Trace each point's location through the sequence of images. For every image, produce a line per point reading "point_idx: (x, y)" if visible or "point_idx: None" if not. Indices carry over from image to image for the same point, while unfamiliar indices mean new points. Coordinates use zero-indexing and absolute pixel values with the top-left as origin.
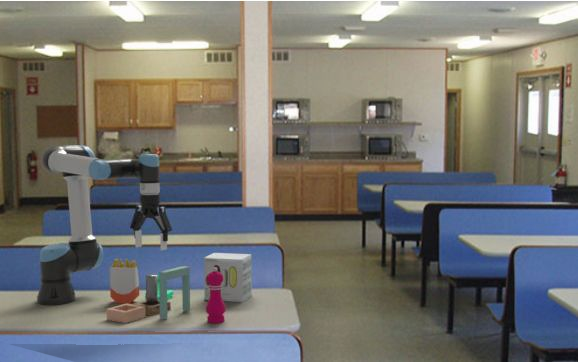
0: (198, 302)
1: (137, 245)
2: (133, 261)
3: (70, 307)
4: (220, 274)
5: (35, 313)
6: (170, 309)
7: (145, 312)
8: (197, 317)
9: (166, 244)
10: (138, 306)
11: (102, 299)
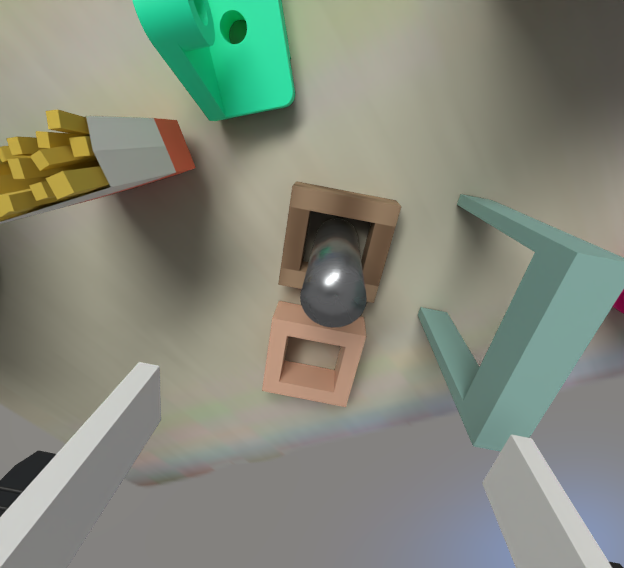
0: (465, 19)
1: (150, 427)
2: (68, 195)
3: (58, 296)
4: None
5: (45, 375)
6: (396, 201)
7: None
8: None
9: (560, 495)
10: (340, 339)
11: None
